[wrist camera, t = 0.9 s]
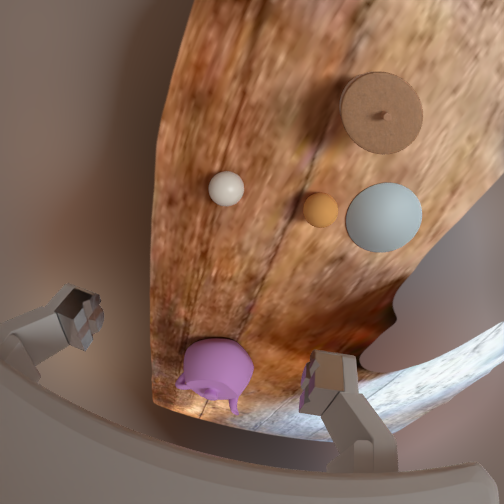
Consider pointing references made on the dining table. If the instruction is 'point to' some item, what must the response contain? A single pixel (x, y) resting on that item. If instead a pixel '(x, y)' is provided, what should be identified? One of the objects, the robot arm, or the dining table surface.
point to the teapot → (216, 370)
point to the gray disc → (384, 217)
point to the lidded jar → (381, 112)
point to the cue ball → (226, 188)
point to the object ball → (320, 210)
